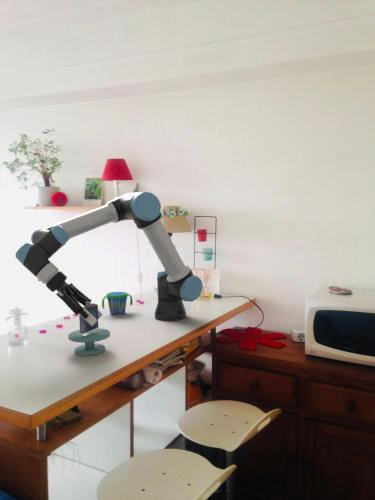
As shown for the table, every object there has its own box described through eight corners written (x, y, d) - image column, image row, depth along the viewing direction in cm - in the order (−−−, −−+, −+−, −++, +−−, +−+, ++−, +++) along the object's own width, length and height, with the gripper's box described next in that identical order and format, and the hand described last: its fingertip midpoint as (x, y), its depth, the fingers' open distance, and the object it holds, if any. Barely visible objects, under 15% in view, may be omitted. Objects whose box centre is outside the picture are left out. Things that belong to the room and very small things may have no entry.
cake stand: (113, 344, 172) (113, 327, 172) (106, 357, 157) (105, 339, 157) (75, 344, 173) (74, 328, 172) (63, 357, 158) (63, 340, 157)
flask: (83, 333, 160) (82, 304, 159) (77, 332, 161) (76, 303, 160) (100, 327, 168) (99, 299, 167) (94, 326, 169) (93, 298, 168)
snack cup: (129, 309, 231) (129, 290, 230) (135, 313, 221) (135, 293, 220) (100, 312, 224) (99, 293, 223) (104, 317, 215) (103, 296, 214)
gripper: (54, 280, 173) (97, 319, 175) (35, 290, 152) (83, 335, 154) (67, 266, 173) (110, 306, 174) (49, 274, 152) (98, 320, 153)
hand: (97, 320), depth 164 cm, fingers closed on flask, 8 cm apart
